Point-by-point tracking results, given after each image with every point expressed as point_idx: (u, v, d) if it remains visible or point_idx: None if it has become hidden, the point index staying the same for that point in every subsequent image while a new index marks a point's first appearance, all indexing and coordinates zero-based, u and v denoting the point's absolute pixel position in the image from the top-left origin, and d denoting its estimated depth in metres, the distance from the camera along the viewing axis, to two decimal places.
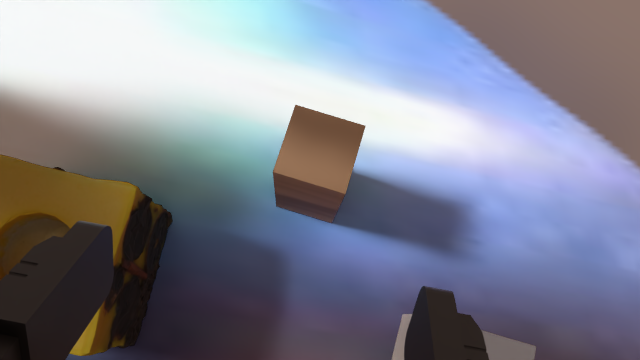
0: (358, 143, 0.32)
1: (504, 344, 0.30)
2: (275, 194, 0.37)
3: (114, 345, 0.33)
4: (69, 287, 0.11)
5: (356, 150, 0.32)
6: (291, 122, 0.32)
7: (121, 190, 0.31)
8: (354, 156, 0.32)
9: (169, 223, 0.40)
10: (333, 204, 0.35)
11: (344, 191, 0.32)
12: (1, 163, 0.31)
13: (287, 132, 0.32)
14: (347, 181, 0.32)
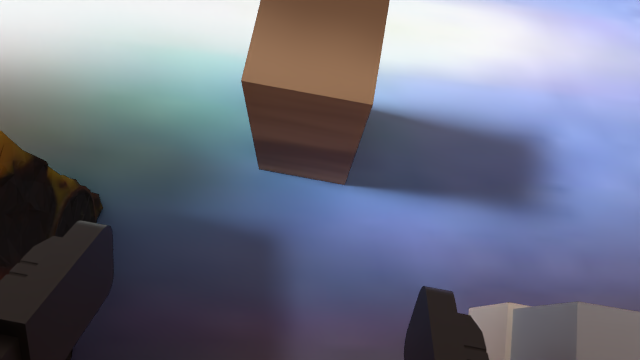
0: (383, 20, 0.19)
1: None
2: (254, 141, 0.23)
3: None
4: (69, 287, 0.11)
5: (381, 32, 0.19)
6: None
7: None
8: (379, 42, 0.19)
9: (97, 211, 0.26)
10: (349, 139, 0.21)
11: (370, 100, 0.18)
12: None
13: (259, 14, 0.19)
14: (373, 83, 0.18)
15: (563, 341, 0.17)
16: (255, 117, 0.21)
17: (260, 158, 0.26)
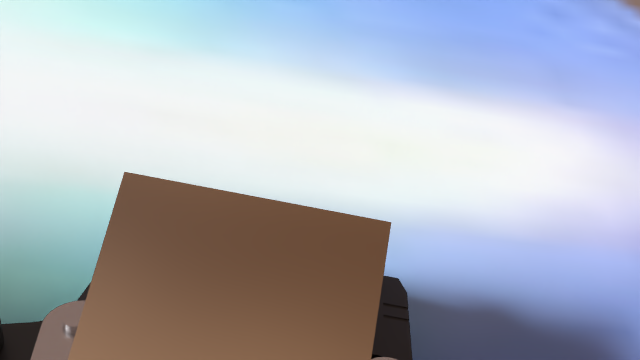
0: (373, 295, 0.08)
1: None
2: None
3: None
4: None
5: (369, 325, 0.08)
6: (110, 242, 0.08)
7: None
8: (364, 351, 0.08)
9: None
10: None
11: None
12: None
13: (94, 285, 0.08)
14: None
15: None
16: None
17: None
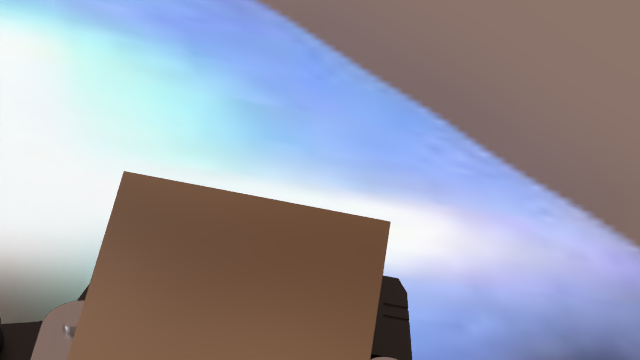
0: (373, 294, 0.08)
1: None
2: None
3: None
4: None
5: (368, 324, 0.08)
6: (110, 241, 0.08)
7: None
8: (363, 350, 0.08)
9: None
10: None
11: None
12: None
13: (94, 284, 0.08)
14: None
15: None
16: None
17: None
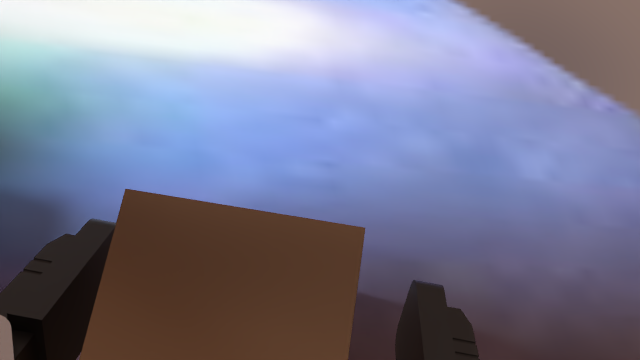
0: (350, 293, 0.09)
1: None
2: None
3: None
4: (83, 284, 0.12)
5: (347, 319, 0.09)
6: (114, 252, 0.10)
7: None
8: (343, 343, 0.09)
9: None
10: None
11: None
12: None
13: (101, 291, 0.09)
14: None
15: None
16: None
17: None
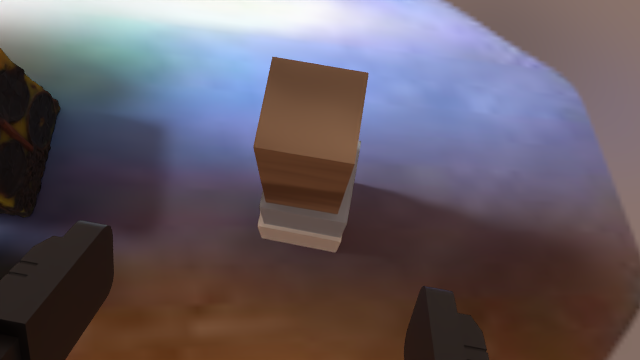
0: (362, 96, 0.24)
1: None
2: (262, 184, 0.29)
3: None
4: (69, 287, 0.11)
5: (361, 105, 0.24)
6: (270, 79, 0.24)
7: None
8: (359, 113, 0.24)
9: (57, 110, 0.44)
10: (338, 184, 0.27)
11: (353, 160, 0.23)
12: None
13: (266, 93, 0.24)
14: (355, 147, 0.23)
15: None
16: (263, 169, 0.26)
17: (267, 195, 0.31)
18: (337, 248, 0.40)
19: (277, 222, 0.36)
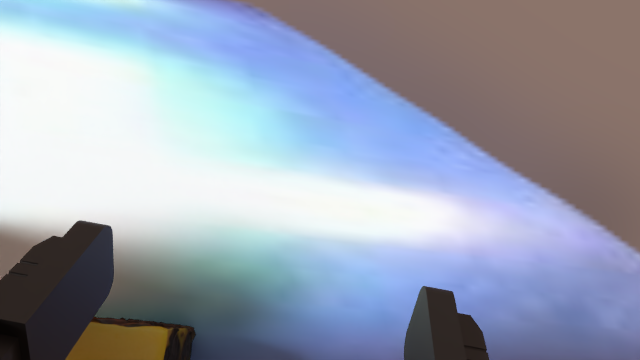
0: None
1: None
2: None
3: None
4: (69, 287, 0.11)
5: None
6: None
7: (154, 334, 0.35)
8: None
9: (193, 337, 0.44)
10: None
11: None
12: None
13: None
14: None
15: None
16: None
17: None
18: None
19: None
